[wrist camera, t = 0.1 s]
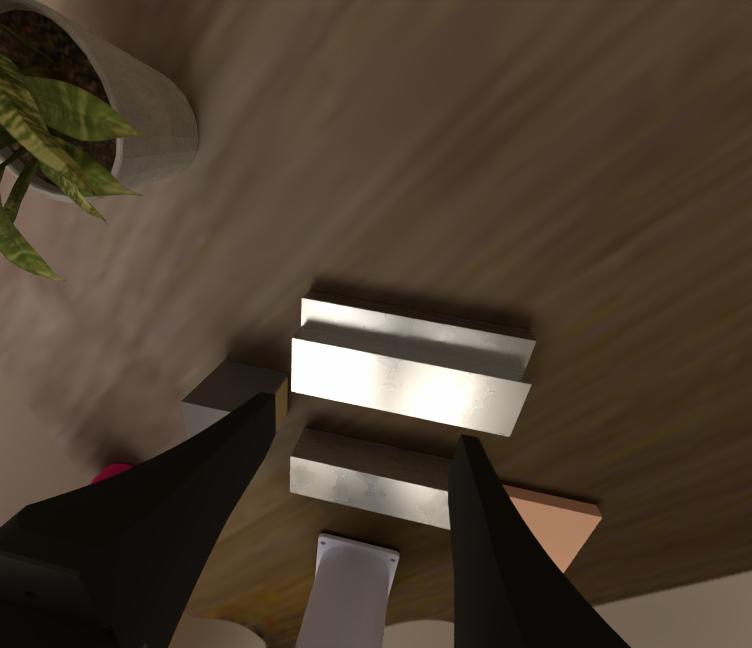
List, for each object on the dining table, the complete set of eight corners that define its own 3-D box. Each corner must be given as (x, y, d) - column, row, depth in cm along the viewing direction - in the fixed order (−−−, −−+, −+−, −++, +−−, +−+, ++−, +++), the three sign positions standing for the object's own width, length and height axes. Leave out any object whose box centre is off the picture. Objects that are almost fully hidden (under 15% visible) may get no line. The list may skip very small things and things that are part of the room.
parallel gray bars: (459, 513, 28) (462, 549, 26) (302, 477, 30) (289, 508, 27) (529, 329, 20) (544, 354, 18) (310, 289, 22) (292, 307, 19)
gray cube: (288, 413, 27) (259, 463, 22) (229, 400, 27) (189, 447, 23) (289, 372, 25) (257, 418, 20) (225, 359, 25) (180, 401, 21)
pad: (553, 569, 30) (557, 581, 29) (453, 545, 30) (453, 556, 30) (596, 505, 26) (602, 517, 25) (479, 479, 26) (480, 490, 26)
